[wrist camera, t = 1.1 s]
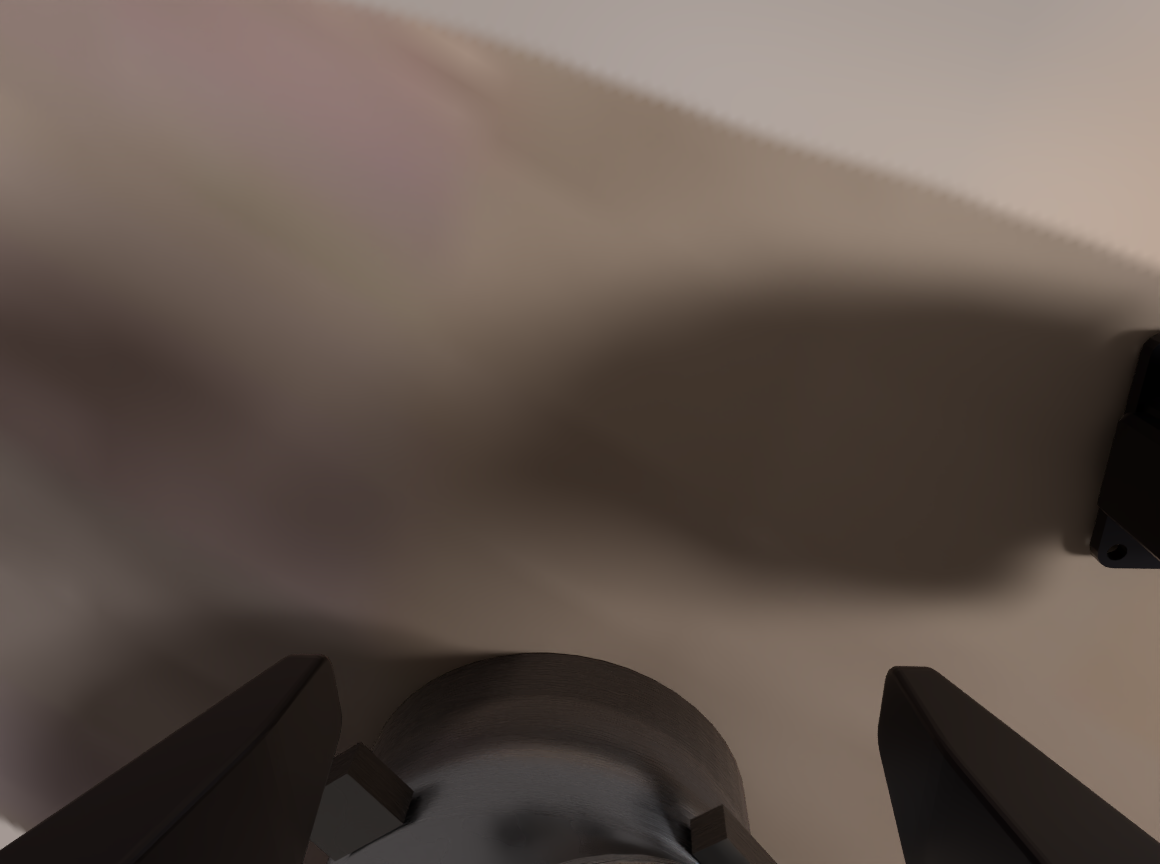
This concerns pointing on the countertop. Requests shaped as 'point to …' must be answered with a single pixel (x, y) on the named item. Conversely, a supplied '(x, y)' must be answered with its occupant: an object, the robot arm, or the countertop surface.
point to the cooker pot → (538, 773)
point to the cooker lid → (622, 859)
